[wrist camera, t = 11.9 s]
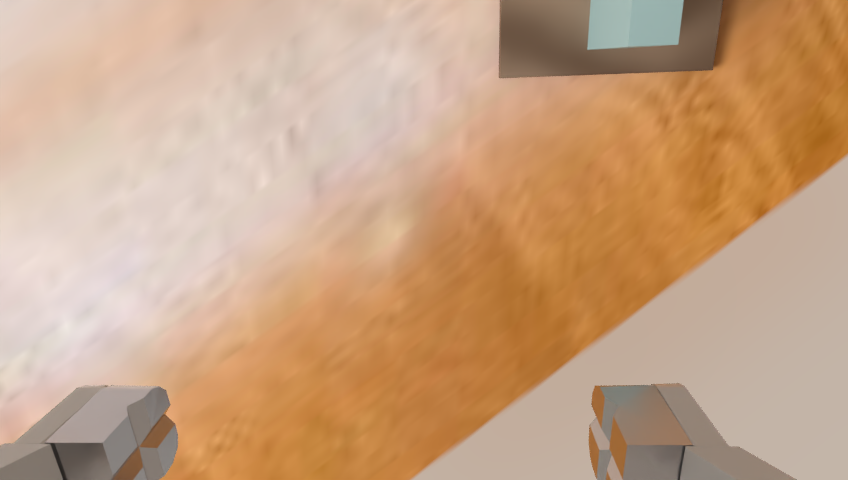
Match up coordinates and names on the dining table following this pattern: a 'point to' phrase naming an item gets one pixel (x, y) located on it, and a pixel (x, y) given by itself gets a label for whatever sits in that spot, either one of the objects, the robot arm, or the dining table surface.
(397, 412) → the dining table surface
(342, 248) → the dining table surface
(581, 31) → the stand
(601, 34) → the green arch block
